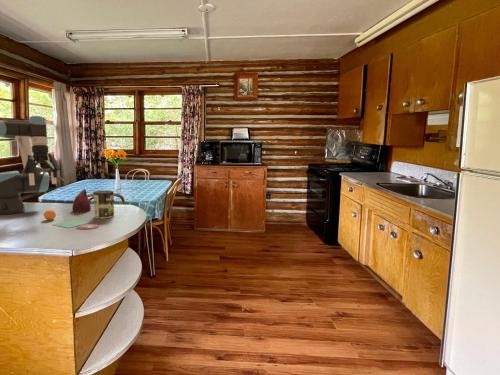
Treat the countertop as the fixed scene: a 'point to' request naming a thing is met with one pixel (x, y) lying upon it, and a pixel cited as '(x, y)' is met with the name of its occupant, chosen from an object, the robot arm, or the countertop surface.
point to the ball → (49, 214)
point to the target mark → (71, 223)
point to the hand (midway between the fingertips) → (43, 184)
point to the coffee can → (103, 204)
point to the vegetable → (81, 203)
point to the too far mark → (87, 226)
